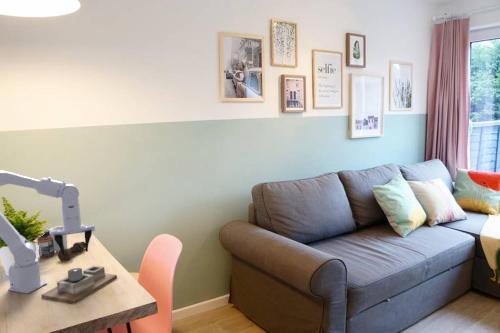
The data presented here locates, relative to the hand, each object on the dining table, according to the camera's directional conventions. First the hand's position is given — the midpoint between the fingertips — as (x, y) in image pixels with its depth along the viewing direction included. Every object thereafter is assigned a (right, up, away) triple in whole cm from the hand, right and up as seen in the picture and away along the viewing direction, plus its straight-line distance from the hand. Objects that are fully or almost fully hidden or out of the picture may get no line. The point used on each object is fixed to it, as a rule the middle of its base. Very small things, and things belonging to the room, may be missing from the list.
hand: (75, 252), depth 138 cm
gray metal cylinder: (+5, -10, -10) cm, 15 cm away
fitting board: (+6, -10, -8) cm, 14 cm away
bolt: (-12, -7, +25) cm, 28 cm away
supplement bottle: (-23, -7, +24) cm, 34 cm away
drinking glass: (-21, -6, +32) cm, 39 cm away
